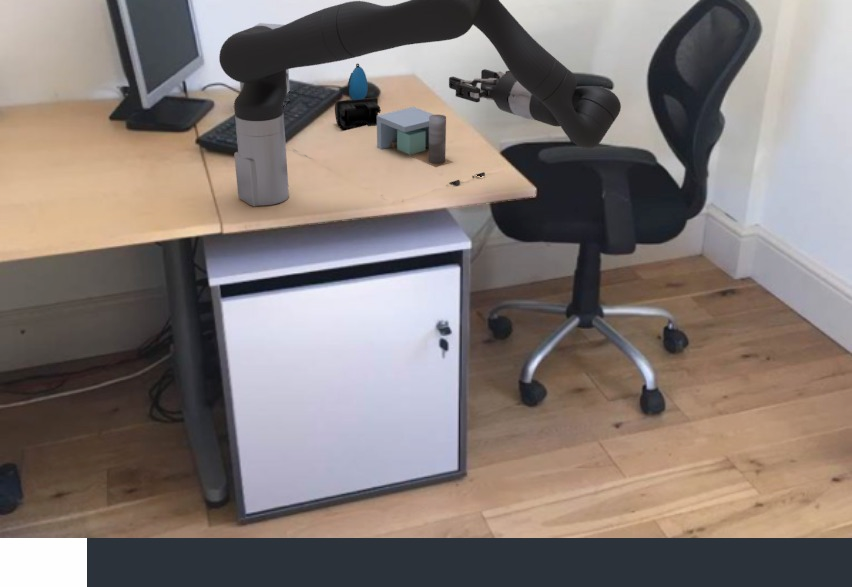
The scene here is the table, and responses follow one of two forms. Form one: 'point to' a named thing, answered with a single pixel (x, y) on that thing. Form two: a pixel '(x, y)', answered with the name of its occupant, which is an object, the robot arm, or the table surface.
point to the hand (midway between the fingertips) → (466, 78)
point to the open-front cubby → (401, 125)
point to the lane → (459, 180)
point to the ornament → (357, 84)
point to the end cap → (356, 113)
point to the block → (411, 141)
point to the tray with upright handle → (433, 143)
